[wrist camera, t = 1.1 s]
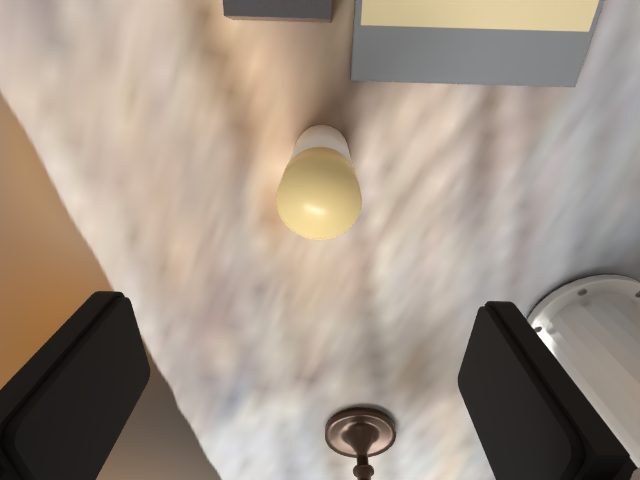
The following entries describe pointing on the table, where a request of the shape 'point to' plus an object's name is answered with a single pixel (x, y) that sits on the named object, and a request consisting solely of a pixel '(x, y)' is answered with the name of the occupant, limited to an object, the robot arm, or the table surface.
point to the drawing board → (473, 41)
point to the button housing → (279, 10)
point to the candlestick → (360, 436)
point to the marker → (319, 186)
